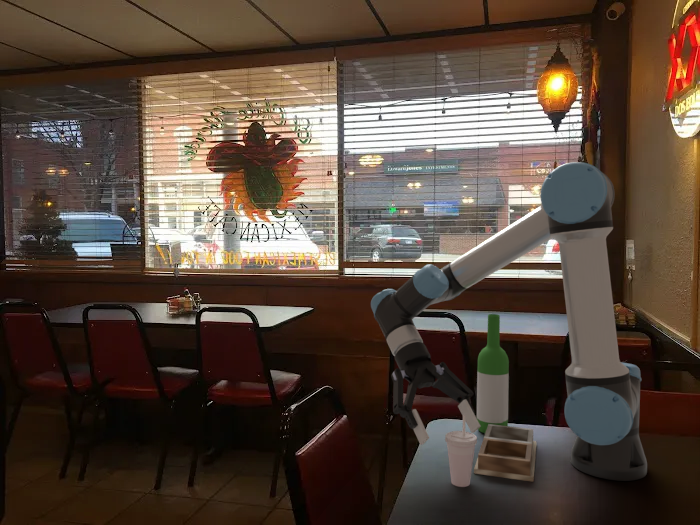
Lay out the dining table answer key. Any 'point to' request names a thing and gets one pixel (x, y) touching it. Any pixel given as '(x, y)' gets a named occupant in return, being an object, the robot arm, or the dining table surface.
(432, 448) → the dining table surface
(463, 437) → the smoothie
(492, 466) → the board
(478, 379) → the wine bottle
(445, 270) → the robot arm
